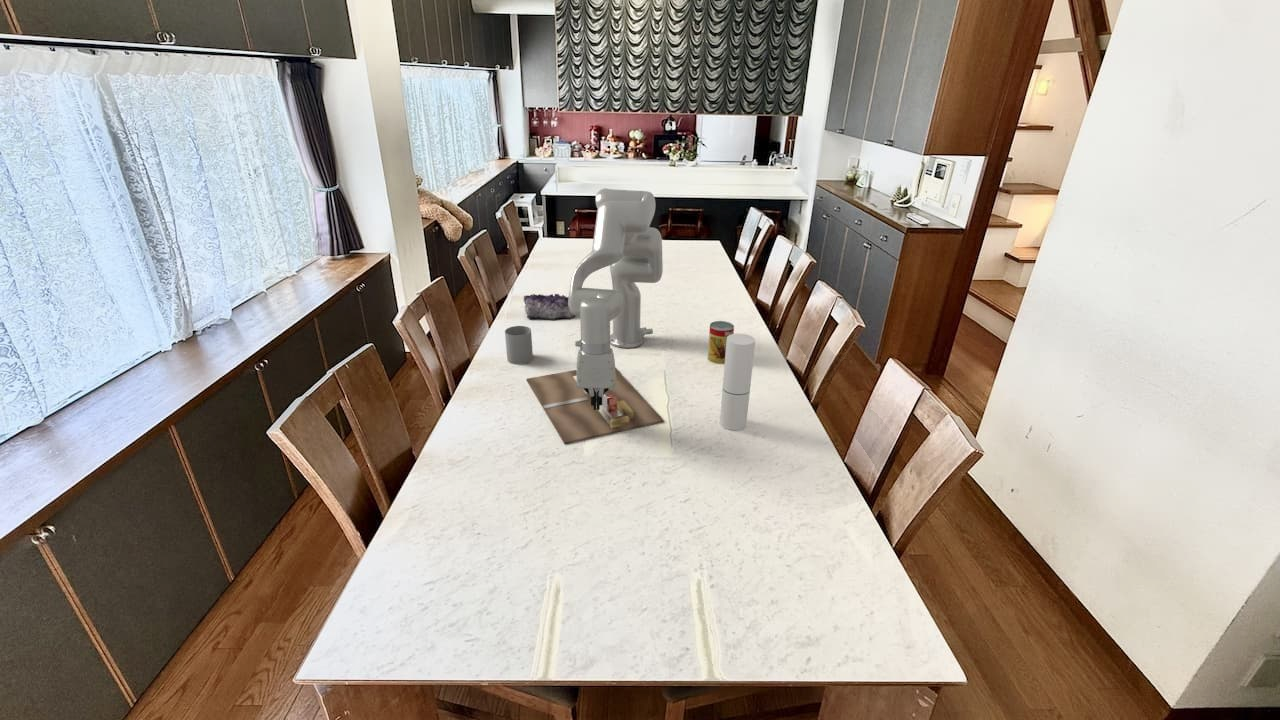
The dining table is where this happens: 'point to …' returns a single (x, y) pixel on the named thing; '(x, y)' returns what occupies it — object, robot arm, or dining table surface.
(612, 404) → the arm
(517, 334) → the cup
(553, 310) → the geode
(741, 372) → the cylindrical container
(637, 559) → the dining table surface
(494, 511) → the dining table surface
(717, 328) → the canned food
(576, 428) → the board
